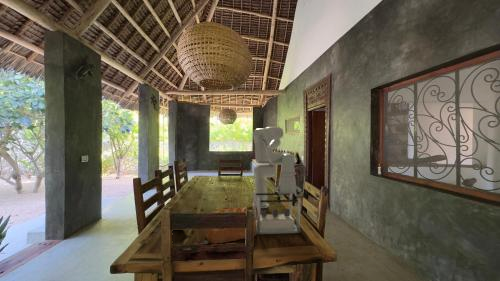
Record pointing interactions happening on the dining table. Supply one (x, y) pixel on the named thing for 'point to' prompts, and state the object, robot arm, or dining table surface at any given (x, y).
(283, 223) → the switch box
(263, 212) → the grey rectangular block
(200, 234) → the lantern
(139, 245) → the dining table surface
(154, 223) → the dining table surface
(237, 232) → the bread
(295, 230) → the frame
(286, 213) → the grey matte cuboid
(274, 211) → the dark grey rectangular box
